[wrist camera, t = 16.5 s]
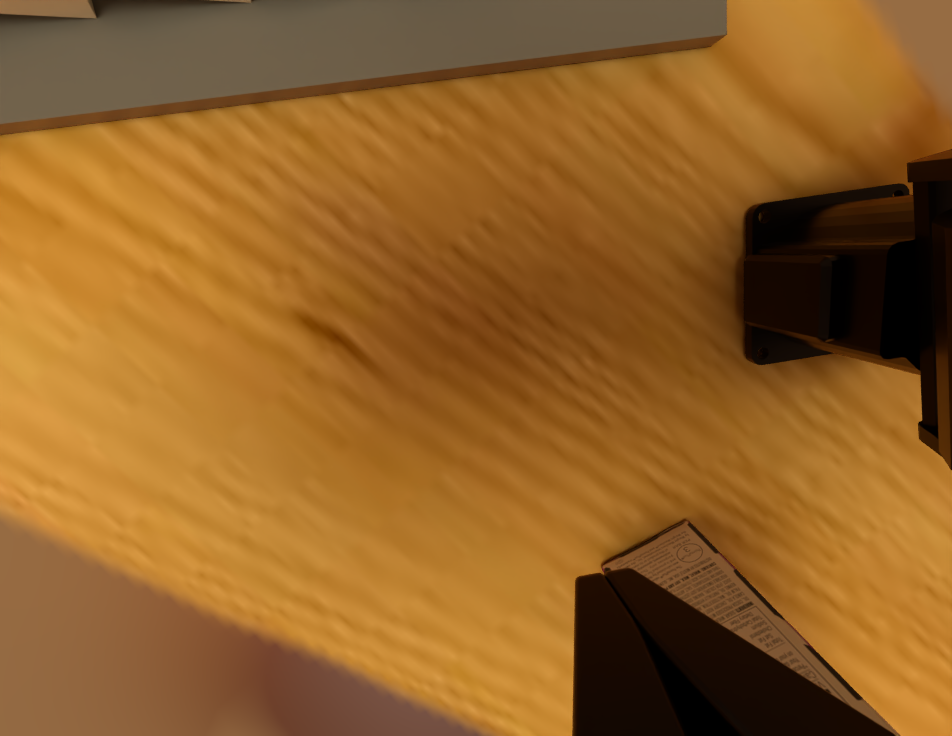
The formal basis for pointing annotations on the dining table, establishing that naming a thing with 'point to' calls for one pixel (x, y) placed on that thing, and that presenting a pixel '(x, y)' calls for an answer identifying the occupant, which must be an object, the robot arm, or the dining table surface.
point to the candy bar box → (733, 604)
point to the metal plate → (307, 49)
